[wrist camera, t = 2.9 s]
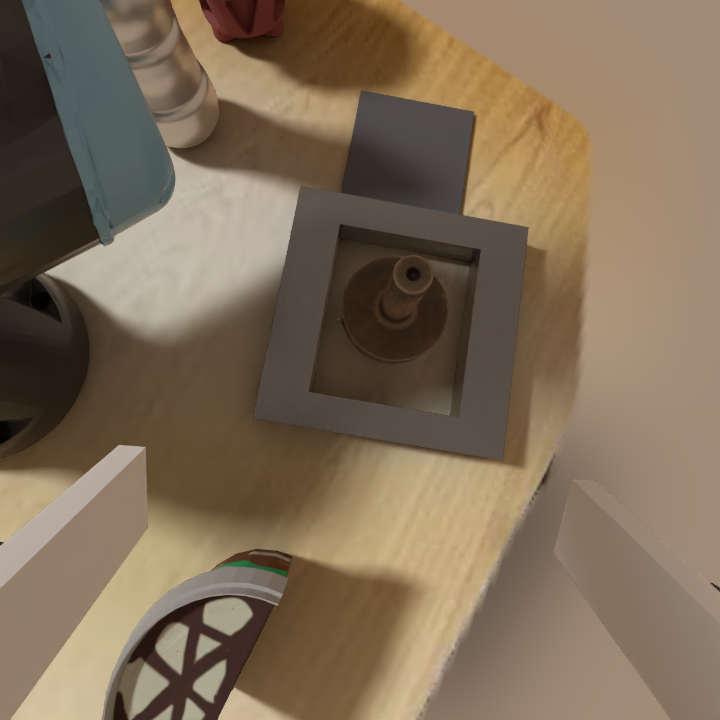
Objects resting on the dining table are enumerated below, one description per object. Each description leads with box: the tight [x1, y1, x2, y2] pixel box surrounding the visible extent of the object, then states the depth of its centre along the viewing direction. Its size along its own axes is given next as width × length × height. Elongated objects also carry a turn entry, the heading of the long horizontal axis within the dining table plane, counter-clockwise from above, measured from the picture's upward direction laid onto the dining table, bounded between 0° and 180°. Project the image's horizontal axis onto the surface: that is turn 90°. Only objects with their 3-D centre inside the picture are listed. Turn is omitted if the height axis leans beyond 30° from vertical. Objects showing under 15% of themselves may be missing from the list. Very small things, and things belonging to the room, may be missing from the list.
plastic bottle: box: [99, 0, 219, 148], centre depth 25 cm, size 6×7×20 cm
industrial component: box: [336, 255, 453, 364], centre depth 27 cm, size 9×7×12 cm
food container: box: [102, 549, 292, 720], centre depth 25 cm, size 12×6×10 cm, turn 153°
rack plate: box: [253, 186, 529, 461], centre depth 32 cm, size 18×18×2 cm
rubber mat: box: [342, 91, 474, 215], centre depth 35 cm, size 10×10×1 cm
